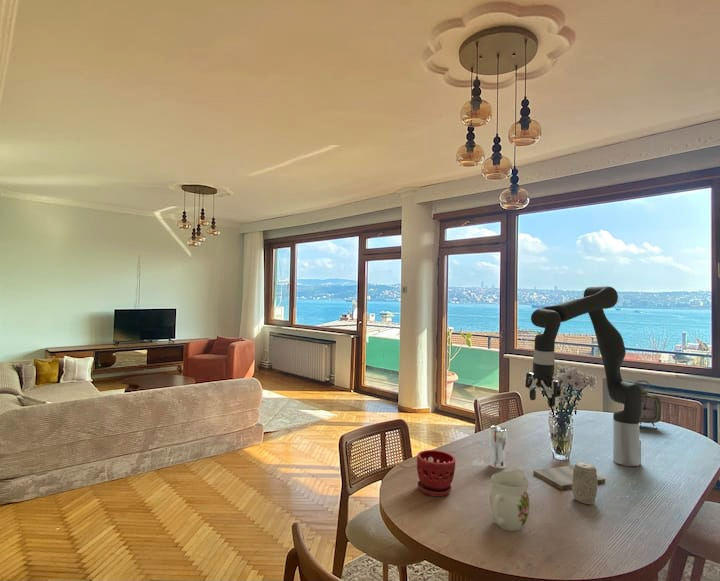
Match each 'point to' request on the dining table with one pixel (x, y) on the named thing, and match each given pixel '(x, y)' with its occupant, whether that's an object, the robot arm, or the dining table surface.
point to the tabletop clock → (649, 407)
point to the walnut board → (560, 476)
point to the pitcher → (509, 499)
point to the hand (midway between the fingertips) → (541, 403)
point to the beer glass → (498, 446)
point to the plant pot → (435, 472)
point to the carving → (584, 483)
